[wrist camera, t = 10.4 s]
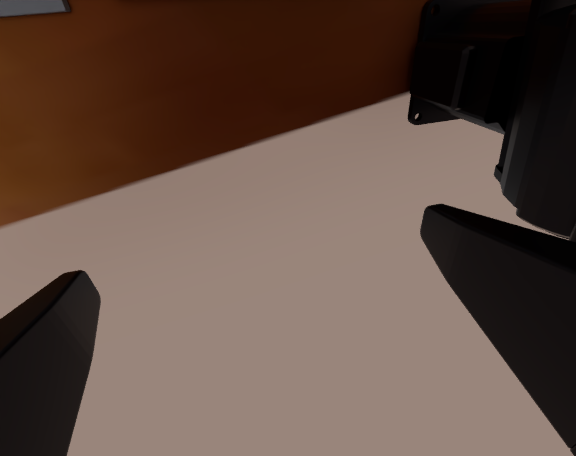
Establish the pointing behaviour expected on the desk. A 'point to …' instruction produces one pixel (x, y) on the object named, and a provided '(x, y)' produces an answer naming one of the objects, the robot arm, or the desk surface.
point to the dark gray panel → (32, 7)
